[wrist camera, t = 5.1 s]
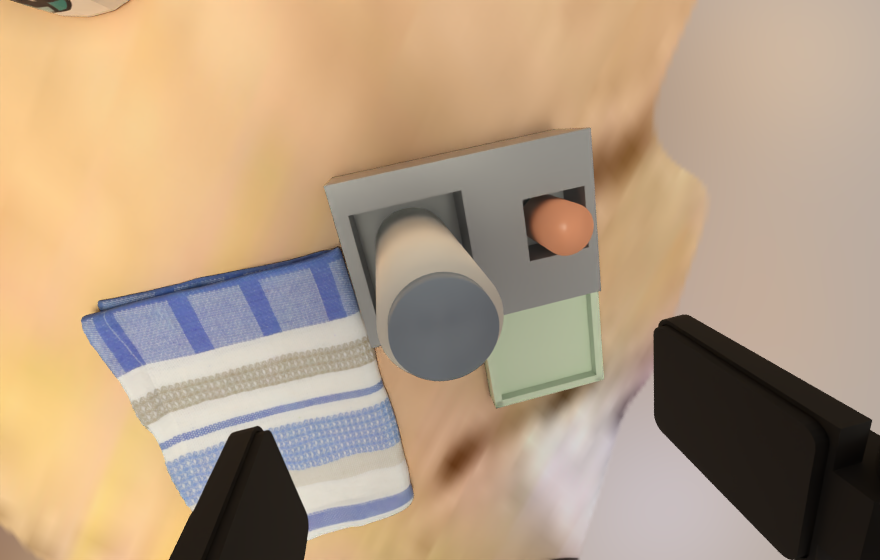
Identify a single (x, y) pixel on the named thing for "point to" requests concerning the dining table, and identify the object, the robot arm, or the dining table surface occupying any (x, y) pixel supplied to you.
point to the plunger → (558, 224)
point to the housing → (477, 214)
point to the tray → (546, 351)
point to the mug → (74, 6)
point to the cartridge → (432, 299)
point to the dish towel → (263, 382)
